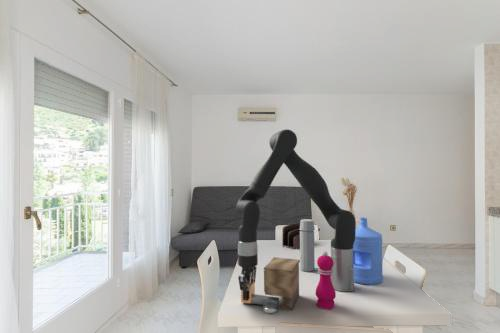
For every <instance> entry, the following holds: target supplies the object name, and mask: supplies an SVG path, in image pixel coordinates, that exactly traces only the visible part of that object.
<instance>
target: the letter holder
mask: <svg viewBox="0 0 500 333" xmlns="http://www.w3.org/2000/svg"><path fill="white" fill-rule="evenodd" d="M299 229H300V223H291V224H288V225H285V226H283V227H282V234H281V235H282V238H281V239H282V246H281V247H282V248H285V247H286V249H291V250H297V249H300V231H301V230H299ZM296 248H297V249H296Z"/></svg>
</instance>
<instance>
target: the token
mask: <svg viewBox="0 0 500 333" xmlns="http://www.w3.org/2000/svg"><path fill="white" fill-rule="evenodd" d="M262 312H263V313H264V314H266V315H274V314H277V313H278V306H276V305H274V304H266V305H262Z"/></svg>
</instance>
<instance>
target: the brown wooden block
mask: <svg viewBox="0 0 500 333" xmlns="http://www.w3.org/2000/svg"><path fill="white" fill-rule="evenodd" d="M263 275H264V276H263V290H264V291H263V292H264V295H265V296H272V297H282V298H281V299H282V302H281V304H282V308H281V309H282V310H285V311H293V309H294V307H295V305H296V303H297V301H298V298H299V296H300V259H298V258H285V257H273V258H271V260H270V261H269V262H268V263H267V264H266V265H265V266H264V267H263Z"/></svg>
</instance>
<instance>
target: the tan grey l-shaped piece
mask: <svg viewBox="0 0 500 333" xmlns="http://www.w3.org/2000/svg"><path fill="white" fill-rule="evenodd" d="M246 281H247V280H246ZM247 282H248V281H247ZM255 283H256V280H255V281H251V284H249V300H248V301H245V300H243V290H240V291H241V292H240V293H241V294H240V302H241V303H245V304H250V305H251V304H252V305H253V304H256V305H262V306H264V305H266V304H274V305H276V306H277V307H278V306H279V304H280V297H279V296H272V295H265V294H264V295H262V294H261V295H260V294H255V291H256V288H255ZM244 287H245V286H244Z"/></svg>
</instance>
